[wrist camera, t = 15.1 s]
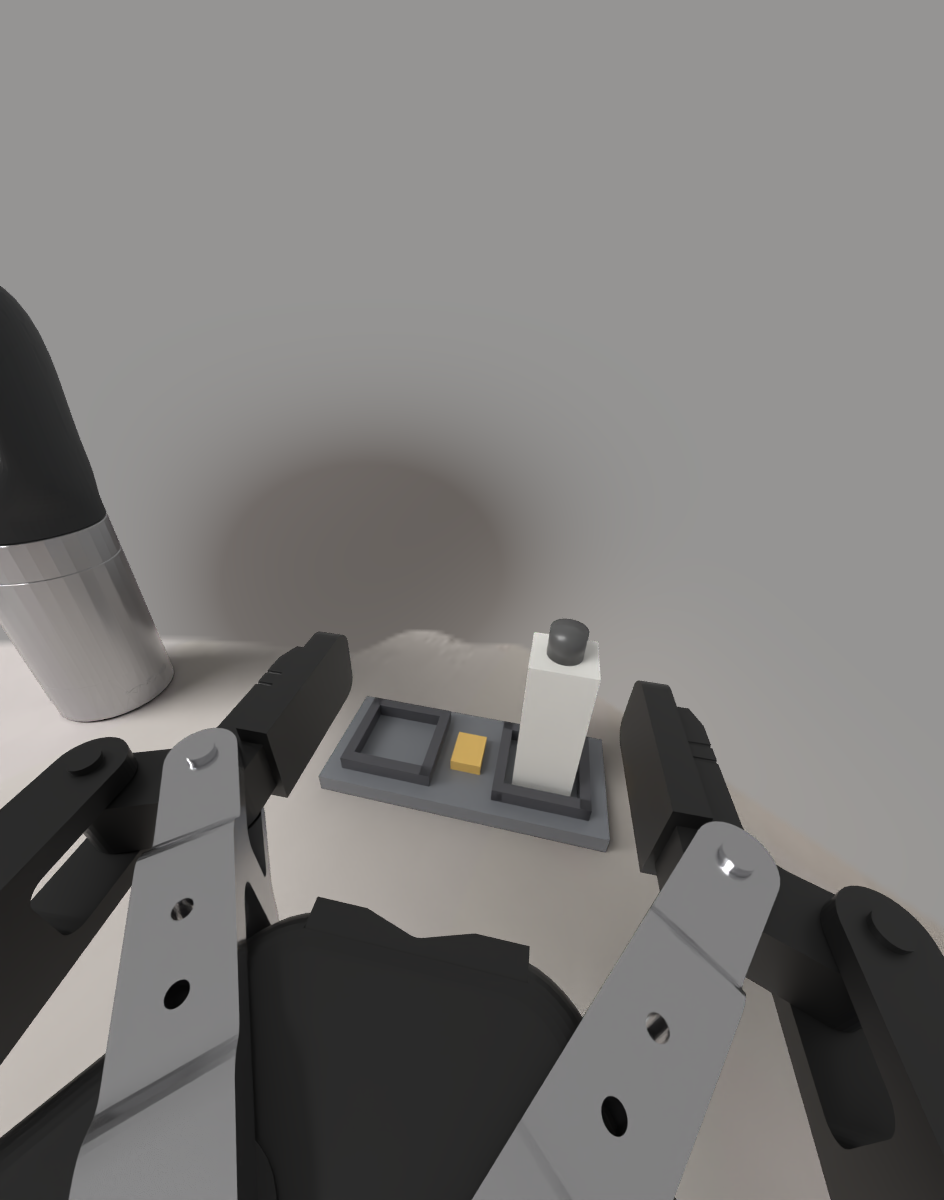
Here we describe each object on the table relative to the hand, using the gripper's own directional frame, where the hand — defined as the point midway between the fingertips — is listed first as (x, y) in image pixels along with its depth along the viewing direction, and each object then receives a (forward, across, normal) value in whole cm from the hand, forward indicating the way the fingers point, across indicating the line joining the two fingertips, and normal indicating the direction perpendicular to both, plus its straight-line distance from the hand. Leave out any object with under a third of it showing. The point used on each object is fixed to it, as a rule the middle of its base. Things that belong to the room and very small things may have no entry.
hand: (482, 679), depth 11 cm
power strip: (+13, +2, +23) cm, 26 cm away
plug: (+13, -4, +21) cm, 25 cm away
